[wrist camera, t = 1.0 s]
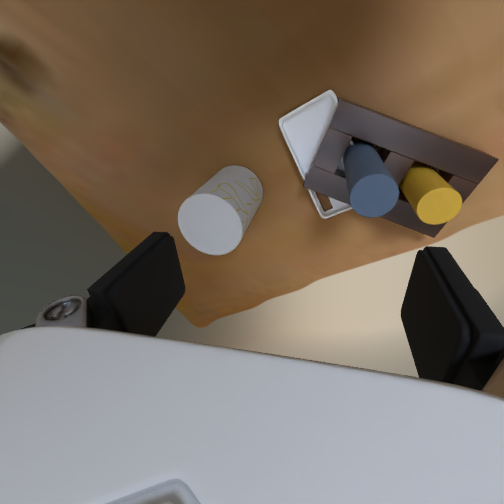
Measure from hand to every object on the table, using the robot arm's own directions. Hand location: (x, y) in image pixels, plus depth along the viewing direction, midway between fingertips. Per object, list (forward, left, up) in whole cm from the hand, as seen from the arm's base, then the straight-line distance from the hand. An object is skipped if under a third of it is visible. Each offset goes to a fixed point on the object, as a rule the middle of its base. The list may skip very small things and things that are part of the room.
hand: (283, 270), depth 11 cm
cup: (+11, -8, -31) cm, 34 cm away
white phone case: (+2, +3, -29) cm, 30 cm away
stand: (0, +10, -31) cm, 33 cm away
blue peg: (0, +6, -31) cm, 32 cm away
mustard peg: (0, +14, -31) cm, 34 cm away
